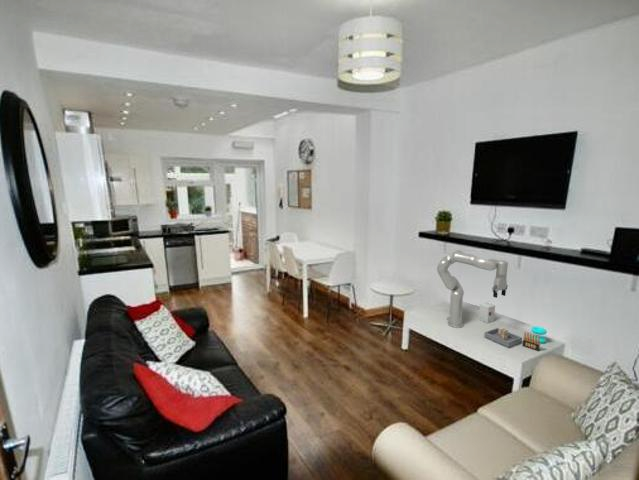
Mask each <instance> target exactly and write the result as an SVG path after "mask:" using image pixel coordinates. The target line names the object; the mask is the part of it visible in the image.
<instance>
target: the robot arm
mask: <svg viewBox="0 0 639 480" xmlns="http://www.w3.org/2000/svg"><path fill="white" fill-rule="evenodd" d="M454 263H460V264H464V265H467V266H468V265H469V266H472V267H475V268H478V269H482V270H485V271H491V272H492V271H495V270H496V271H495V277H494V280H493V285H492V286H493V287H491V288H492V289H491V290H492V293H493V295H492V297H493V298H496V299H497V298H498V294H499V293H498V292H499V291H501V294H500V295H501V296H503V297H505V296H506V293H507V289H508V287H509V285H508V284H507V276H508V267H509V266H508V264H509V263H508V260H507V261H506V260H501V259H499V260H498V259H494V258H489V259H487V260H486V259H482V258H479V257H478V256H476V255H473V254H470V253H465V252H464V251H462V250H459V249H458V250H454V251H453V252H452V253H448V255H446V256H443V257H442V259H441V260H440V261H439V263H437V267H436V271H437V274H438V275H439V278H440V280H441V281H442V282H443V284H444V286H445V288H446V289H448V290H450V291H451V292H450V298H449V300H450V307H449V308H450V309H449V316H447V318H446V320H448V321H447V324H448V325H447V326H450V327H451V328H456V329H457V328H462V327H464V323H463V322H462V321H463V316H462V315H463V299H464V294H465V292H464V289H463V287H462V285H461V284H460V282H459V280H458V279H457V277H456V276H452V274H451V272H450V271H449V270H448V269H449V267H451V265H453V264H454Z"/></svg>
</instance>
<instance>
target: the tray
mask: <svg viewBox="0 0 639 480" xmlns="http://www.w3.org/2000/svg"><path fill="white" fill-rule="evenodd" d="M499 329H500V328H499V327H496V328H493V329H490V330H488V331H484V335H483V336H484V337H483V338H485V339H487V340H489V341H491V342H494V343H496V344H498V345H501V346H502V347H505V348H506V349H510V348H512V347H516V346H519V345H520V344H523V337H522V336H519V335H517V334H514V333H512V332H510V331H508V336H507V340H503V339H501V338H498V333H499Z"/></svg>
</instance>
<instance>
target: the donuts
mask: <svg viewBox="0 0 639 480" xmlns="http://www.w3.org/2000/svg"><path fill="white" fill-rule="evenodd" d="M530 330H531V333H532V334H534V339H535V335H537V339H538V335H539V337H540V343H539V344H545V343H546V341H547V339H546V338H545V337H544V336H543V335H546V334H547V332H548V331H547V330H546V328H544V327H541V326H532V327H531V329H530ZM531 339H532V335H531Z"/></svg>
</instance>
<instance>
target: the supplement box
mask: <svg viewBox="0 0 639 480" xmlns="http://www.w3.org/2000/svg"><path fill="white" fill-rule="evenodd" d="M495 312H496V305H495V304H492V303H489V302H484V303H481V304H479V312H478V313H479V314H478V320H479V321H481V322H483V323H486V324H491V323H493V322H495Z"/></svg>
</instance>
